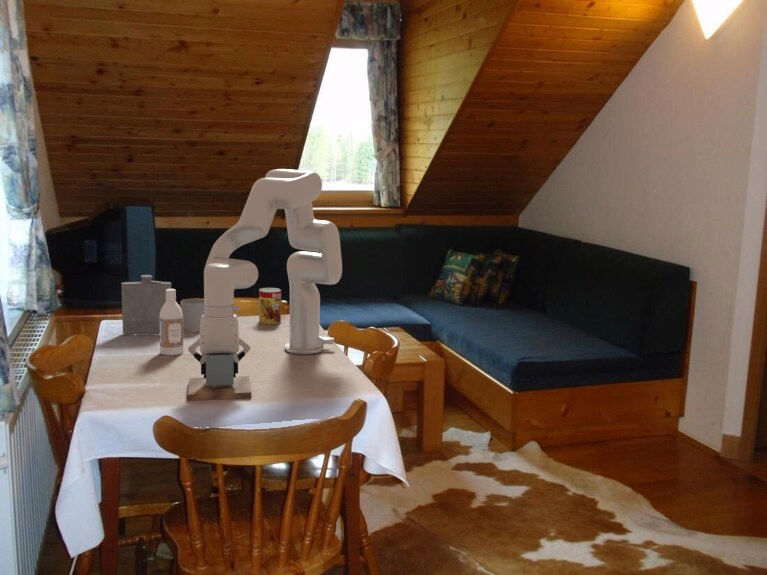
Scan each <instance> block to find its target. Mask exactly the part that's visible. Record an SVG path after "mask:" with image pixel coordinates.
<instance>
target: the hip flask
mask: <svg viewBox="0 0 767 575" xmlns="http://www.w3.org/2000/svg"><path fill="white" fill-rule="evenodd" d="M140 279H141V281H130V282H129V281H124V282H121V309H122V310H121V314H122V335H123V334H124V335H123V336H135V335H134V334H160V323H159V316H160V311H161V308H162V307H163V305H164V304H165V302H166V289H172V282H170V281H161V280H160V281H159V280H152V279H153V275H151V274H142V275H140Z"/></svg>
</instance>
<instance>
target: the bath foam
mask: <svg viewBox="0 0 767 575" xmlns="http://www.w3.org/2000/svg"><path fill="white" fill-rule="evenodd" d="M176 293H177V290H176V289H175V288H171V289H166V302H165V304H164V305H163V307H162V308H161V311H160V316H159V323H160V335H159V350H160V352H159V353H160V354H161V355H164V356H167V357H169V356H170V357H171V356H172V357H173V356H178V355H181V354H183V352H184V331H183V313H182V310H181V305H179V304H178V302H177V301H176V300H177V296H176V295H177V294H176Z"/></svg>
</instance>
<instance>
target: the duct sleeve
mask: <svg viewBox="0 0 767 575" xmlns="http://www.w3.org/2000/svg"><path fill="white" fill-rule="evenodd" d="M215 385H234V359H233V353H230V354H206V386H215Z"/></svg>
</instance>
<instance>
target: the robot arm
mask: <svg viewBox="0 0 767 575" xmlns="http://www.w3.org/2000/svg"><path fill="white" fill-rule="evenodd" d="M322 189H323V181H322V178H321V176H320V175H319V173H317V172H315V171H313V170H303V169H302V170H299V169H289V168H288V169H287V168H277V169H272V170H269V171H267V173H265V176H264V177H262V178H258V179H257V180H256V181H255V182H254V183H253V185H252V187H251V190H250V192H249V195H248V198H247V200H246V203H245V204H244V208H243V210H242V213H241V214H240V217H239V219H238V222H236V224H234V225H233V226H231V227H230V228H229V229H227V230H226V231H224V233H223V234H222V235H220V237H218V239H217V240H216V241H215V242H214V244H213V245H212V247H211V250H210V251H209V255H208V256H207V260H206V262H205V266H204V270H203V290H204V291H203V293H204V294H203V298H204V299H203V300H204V313H205V314H204V315H202V317H201V323H200V332H199V338H198V339H197V340H196V341H195V342H194V343H192V344H190V346H189V347H188V349H187V351H188V352H189V353H190V354H191V355H192V356H193V357H194V359H196V360H197V361H198V362H199V363H200V375H201V376H202V375H203V378H204V379H206V354H230V353H233V359H234V378H236V376H237V374H239V363H240V361H241V360H242V359H243V358H244V357H245V355H246V354H247V353H248V352H249V351H250V350H251V346H250V345H249V344H248V343H247V342H246V341H244V340H243V339H242V338H240V330H239V321H238V316H237V314H235V313H236V312H240V306H239V305H236V304H235V300H234V298H235V293H234V292H235V290H239V289H240V290H241V289H242V290H243V289H248V288H251V287H252V286H254V285H255V284H256V282H257V280H258V279H259V271H258V270H259V269H258V267H257V266H256V264H254V263H253V262H251V261H249V260H244V259H236V258H230V256H231V255H232V254H233V252H234V251H236V250H237V249H238V248H240V247H242V246H244V245H246V244H249V243H252V242H255V241H257V240H259V239H262V238H265V237H266V236H267V235H268V233H269V231H270V229H271V226H272V224H273V220H274V218H275V216H276V212H277V211H278V209H279V210H284V214H285V221H286V229H287V237H288V242H289V245H290V246H291V247H292V248H294V249H296V250H300V251H296V252H294V253H292V254H290V255H289V257H288V259H287V260H286V261H287V262H286V272H287V276H288V283H289V336H288V337H289V338H288V340H289V342H287V343H286V344H285V345H283V346H284V351H286V352H288V353H290V354H296V355H297V354H298V355H312V354H313V353H314V354H318V352H319V353H322V352H323V351H324V349H325V345H334V344H335V338H334V337H329V336H328V337H326V336H324V337H322V336H321V334H320V318H321V317H320V313H321V312H320V310H321V308H320V307H321V305H320V304H321V295H320V291H319V289H318V287H317V285H316V284H321V285H330V286H331V285H336V284H337V283H339V282H340V279H341V278H342V274H343V259H342V251H341V250H342V248H341V240H340V239H341V238H340V233H339V229H338V227H337V226H336V224H335V223H333V222H332V221H330V220H320V219H316V218H315V215H314V208H313V203H312V202H314V201H315V200H317V199H318V198H319V196H320V195H321V193H322ZM301 250H302V251H301ZM240 346H241V347H242V350H241V351H240V350H239V349H240ZM198 347H199V351H200V352H198V351H197V348H198ZM238 352H239V353H238ZM200 353H201V354H200ZM314 354H313V355H314Z"/></svg>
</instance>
